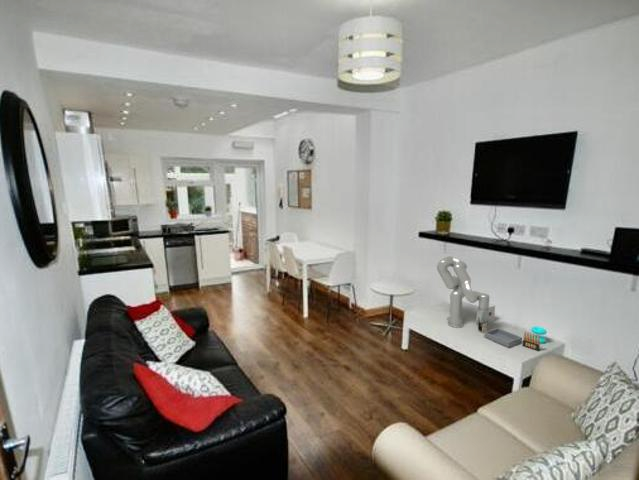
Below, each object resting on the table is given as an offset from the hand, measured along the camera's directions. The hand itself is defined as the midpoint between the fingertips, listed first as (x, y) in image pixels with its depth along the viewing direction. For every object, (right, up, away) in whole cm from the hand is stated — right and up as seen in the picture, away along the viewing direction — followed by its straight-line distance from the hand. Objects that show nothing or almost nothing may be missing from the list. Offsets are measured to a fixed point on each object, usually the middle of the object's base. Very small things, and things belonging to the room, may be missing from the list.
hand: (482, 329), depth 274 cm
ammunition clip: (+22, -7, -28) cm, 36 cm away
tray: (+8, -4, -15) cm, 18 cm away
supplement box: (+14, +2, +21) cm, 25 cm away
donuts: (+34, -4, -18) cm, 39 cm away
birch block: (0, -2, 0) cm, 2 cm away
